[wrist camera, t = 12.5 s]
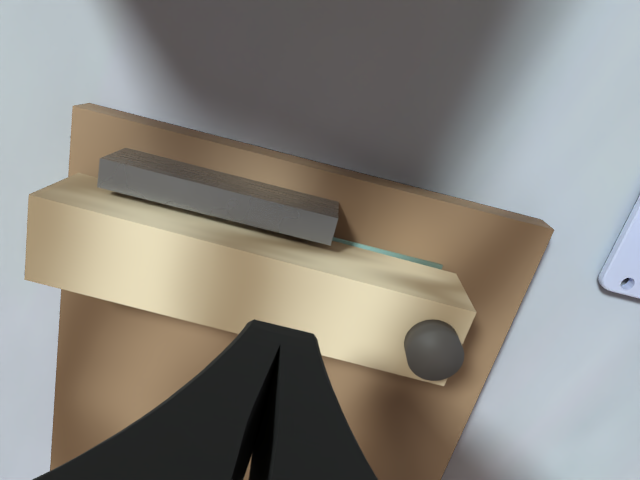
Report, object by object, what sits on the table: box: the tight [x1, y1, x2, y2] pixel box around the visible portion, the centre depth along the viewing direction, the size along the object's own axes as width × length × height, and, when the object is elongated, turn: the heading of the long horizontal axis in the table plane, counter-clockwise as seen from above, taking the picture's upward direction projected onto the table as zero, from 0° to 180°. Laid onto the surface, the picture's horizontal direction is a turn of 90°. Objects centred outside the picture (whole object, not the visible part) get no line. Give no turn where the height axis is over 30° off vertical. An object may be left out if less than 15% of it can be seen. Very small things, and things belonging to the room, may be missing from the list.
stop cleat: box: [97, 148, 339, 246], centre depth 17 cm, size 8×1×2 cm, turn 76°
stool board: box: [50, 103, 554, 480], centre depth 21 cm, size 18×18×1 cm
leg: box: [25, 173, 477, 386], centre depth 17 cm, size 14×3×4 cm, turn 75°
